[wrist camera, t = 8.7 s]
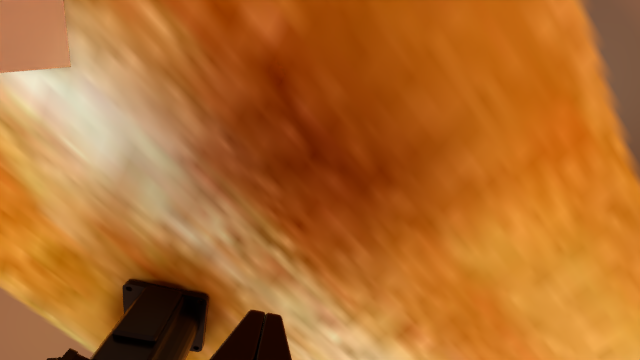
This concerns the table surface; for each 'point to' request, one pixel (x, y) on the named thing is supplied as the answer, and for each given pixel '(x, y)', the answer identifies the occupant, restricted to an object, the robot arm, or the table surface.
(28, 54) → the block
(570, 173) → the table surface
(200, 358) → the table surface
